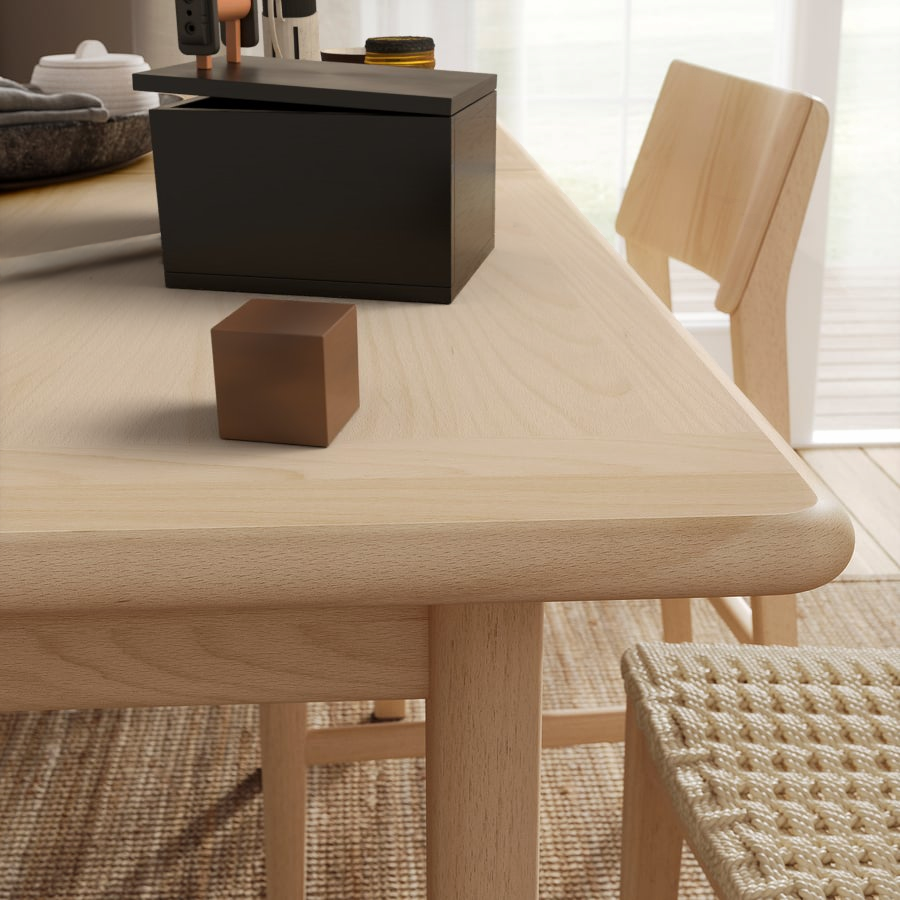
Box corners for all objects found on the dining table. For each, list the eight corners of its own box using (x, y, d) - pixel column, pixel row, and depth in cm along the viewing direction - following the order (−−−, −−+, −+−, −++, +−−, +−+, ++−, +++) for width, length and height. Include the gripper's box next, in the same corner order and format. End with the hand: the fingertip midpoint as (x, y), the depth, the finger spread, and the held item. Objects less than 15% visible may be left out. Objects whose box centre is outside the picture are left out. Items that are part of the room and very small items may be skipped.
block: (218, 438, 46) (209, 328, 44) (259, 399, 50) (252, 297, 48) (328, 447, 45) (323, 336, 44) (360, 407, 49) (357, 303, 48)
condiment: (352, 206, 89) (347, 40, 84) (366, 186, 97) (362, 33, 92) (448, 208, 89) (448, 40, 84) (454, 187, 96) (454, 33, 92)
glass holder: (330, 87, 171) (326, -24, 165) (306, 97, 158) (301, -22, 152) (272, 86, 172) (266, -24, 166) (244, 96, 159) (236, -22, 153)
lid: (132, 90, 63) (126, -15, 61) (228, 68, 76) (226, -20, 73) (450, 116, 60) (456, 6, 58) (496, 89, 73) (502, -3, 70)
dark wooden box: (165, 287, 67) (147, 109, 63) (251, 236, 80) (241, 84, 76) (451, 304, 64) (451, 117, 60) (494, 247, 76) (497, 89, 73)
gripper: (189, -262, 69) (208, 41, 75) (66, -313, 56) (103, 58, 62) (311, -265, 67) (320, 44, 74) (214, -318, 55) (235, 62, 61)
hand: (220, 49), depth 68 cm, fingers closed on lid, 5 cm apart
